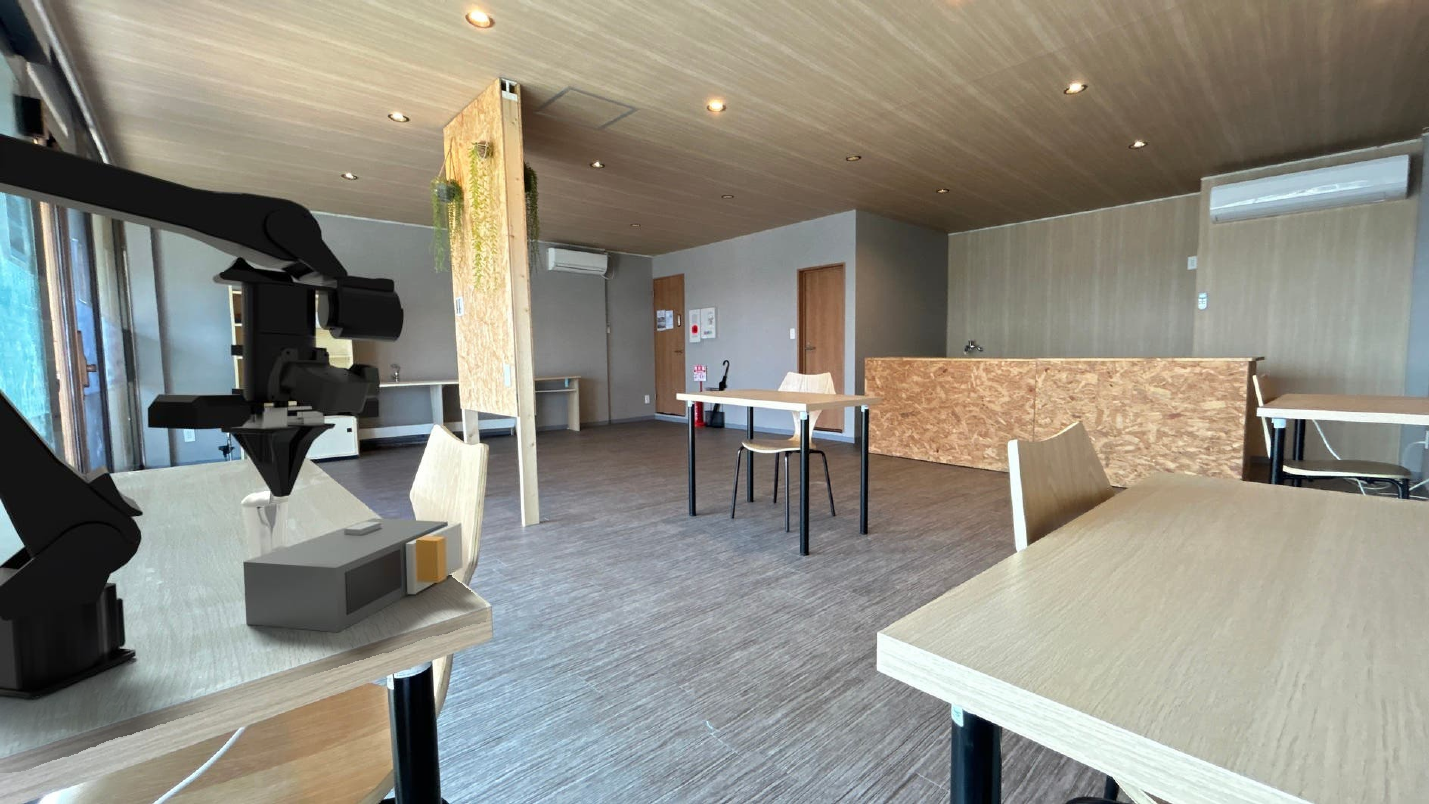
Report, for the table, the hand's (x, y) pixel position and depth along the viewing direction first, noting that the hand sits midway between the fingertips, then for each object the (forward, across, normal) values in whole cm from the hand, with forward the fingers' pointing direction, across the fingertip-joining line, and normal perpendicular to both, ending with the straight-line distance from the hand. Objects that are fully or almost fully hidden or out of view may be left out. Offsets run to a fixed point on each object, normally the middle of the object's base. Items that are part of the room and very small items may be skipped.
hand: (282, 496), depth 56 cm
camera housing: (+12, +6, -4) cm, 13 cm away
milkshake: (+12, +11, +15) cm, 22 cm away
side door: (+11, +10, -10) cm, 18 cm away
